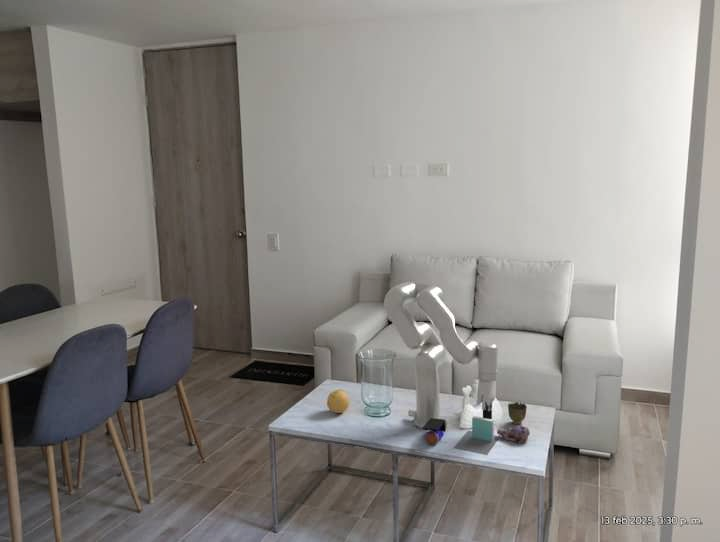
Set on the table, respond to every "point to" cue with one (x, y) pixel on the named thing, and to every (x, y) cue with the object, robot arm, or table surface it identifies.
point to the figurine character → (434, 430)
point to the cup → (517, 412)
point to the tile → (483, 428)
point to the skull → (515, 434)
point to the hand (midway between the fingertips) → (487, 419)
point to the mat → (475, 444)
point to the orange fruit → (338, 401)
